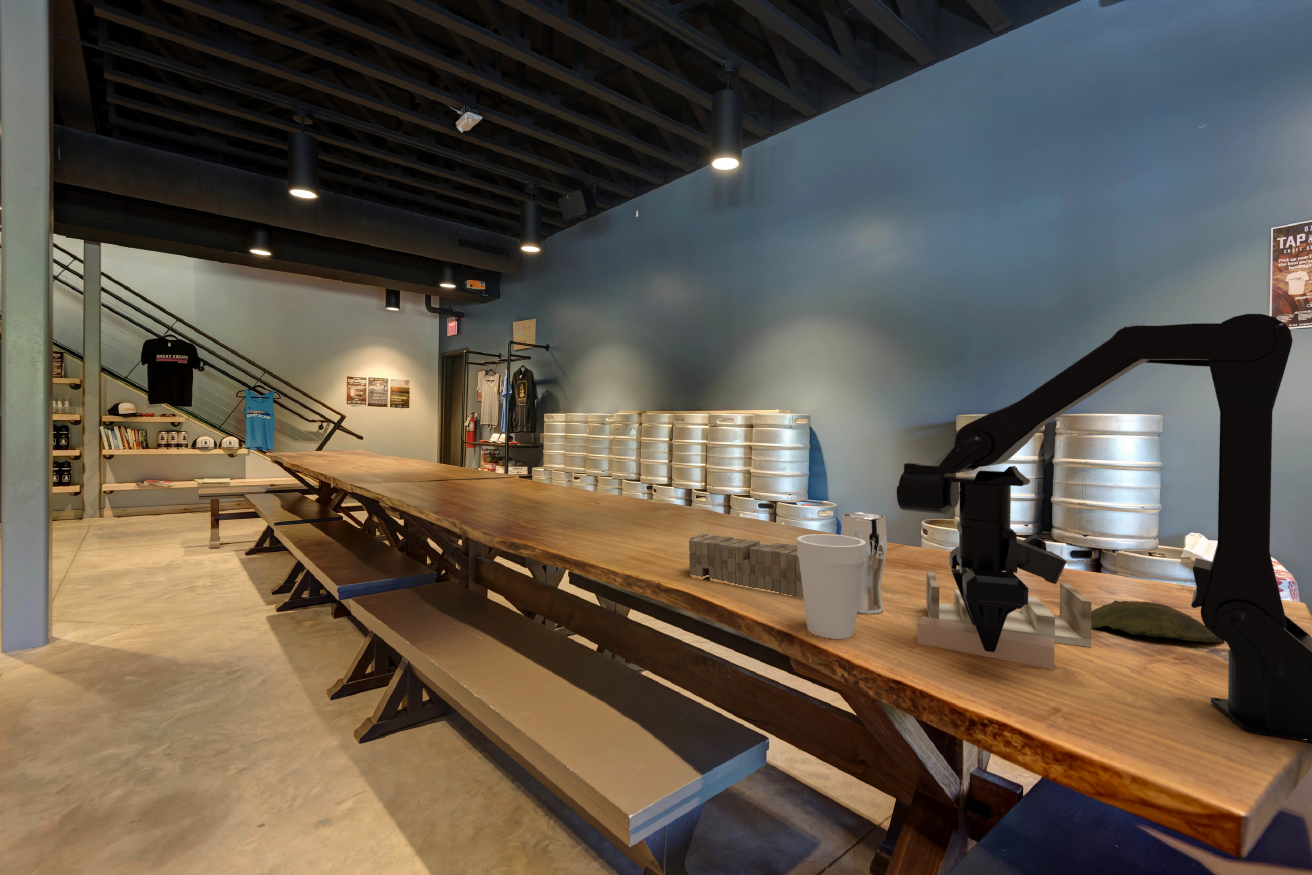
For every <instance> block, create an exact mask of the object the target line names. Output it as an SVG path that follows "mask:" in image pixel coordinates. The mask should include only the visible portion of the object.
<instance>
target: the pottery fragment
mask: <svg viewBox="0 0 1312 875" xmlns="http://www.w3.org/2000/svg"><path fill="white" fill-rule="evenodd" d="M1104 627H1109V628H1110V629H1111V630H1120V631H1123V632H1125V633H1127V634H1130V635H1132V636H1138V635H1139V636H1140V635H1143V636H1146V637H1155V638H1156V637H1162V638H1169V639H1177V640H1181V641H1182V640H1183V641H1187V642H1191V643H1192V642H1203V643H1211V644H1220V643H1222V642H1223V643H1226V642H1225V641H1223V640H1222V639H1220V638H1218V637H1216V636H1215V635H1214V634H1213V633H1212V632H1211V631H1210V630H1209V629H1208V628H1207V627H1206V626H1205V624H1204V623H1203V622H1200V621H1199V620H1197V619H1195V618H1194V617H1192V616H1190V615H1189V614H1186V613H1184V612H1182V611H1180V610H1178V609H1175V608H1173V607H1171V606H1169V605H1166V604H1162V603H1156V602H1150V601H1138V600H1137V601H1136V600H1135V601H1133V600H1132V601H1127V600H1120V601H1119V600H1114V601H1112V602H1111V603H1107V604H1103V605H1102V606H1099V607H1097V608H1095V609H1094V610H1091V630H1098V629H1100V628H1104Z"/></svg>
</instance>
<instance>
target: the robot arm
mask: <svg viewBox="0 0 1312 875" xmlns="http://www.w3.org/2000/svg"><path fill="white" fill-rule="evenodd" d="M1293 341H1294V340H1293V336H1292V331H1291V329H1290V328H1289V326H1288V324H1286V323H1285V322H1284V321H1282V320H1280V319H1278V318H1276V317H1275V316H1272V315H1267V314H1265V313H1264V314H1262V313H1246V314H1240V315H1236V316H1232V317H1230V318H1229V319H1226V320H1224V321H1222V322H1221V323H1220V322H1219V323H1212V322H1211V323H1209V322H1207V323H1206V322H1203V323H1197V322H1196V323H1182V324H1181V323H1179V324H1166V325H1164V324H1163V325H1145V324H1130V325H1126V326H1124V327H1122V328H1120V329H1118V330H1117V331H1116V332H1115V333H1114V334H1113V335H1112V337H1110V338H1109V339H1108V340H1106V341H1104V342H1103V343H1102V344H1100V345H1099V346H1097V347H1096V348H1094V349H1093V350H1091V351H1090V352H1089V353H1087V354H1086V355H1084V356H1083V357H1082V358H1080V359H1078V360H1077V361H1076V362H1074V363H1072V364H1071V365H1069V366H1068V367H1067V368H1065V369H1064V370H1062V371H1061V372H1059V373H1057V374H1056V375H1054V376H1053V377H1052V378H1051V379H1049V380H1048V381H1046V382H1045V383H1043V384H1042V385H1041V386H1039V387H1038V388H1036V389H1034V390H1033V391H1031V392H1030V393H1029V394H1027V395H1026V396H1024V397H1023V398H1021V399H1020V400H1018V401H1016V402H1014V403H1012V404H1010V405H1007V406H1005V407H1002V408H1000V409H996V410H995V411H993V412H990V413H988V414H985V415H984V416H980V417H979V418H976V419H974V420H973V421H971V422H968V423H966V424H965V425H963V426H962V427H961V428H960V429H959V430H958V431H957V432H956V434H955V437H954V438H955V439H954V447H953V448H952V449H951V450H950V451H949V453H948V454H947V455H946V456H945V457H944V458H943V460H942V461H941V462H940V464H938V465H936V464H923V463H919V462H906V463H904V464H903V472H902V474H901V475H900V477H899V481H898V486H896V500H897V504H898V507H899V508H900V509H901V510H902V511H906V512H907V511H908V512H915V513H917V512H918V513H928V514H938V515H939V514H940V515H947V514H949V512H950V511H951V508H954V509H955V508H957V506H958V504H959V512H958V514H959V519H958V522H956V531H958V535H959V536H958V546H956V547H954V548H953V549H952V550H951V551H949V568H950V569H951V570H950V571H951V574H952V576H953V579H954V581H955V584H956V587H957V589H959V592H960V594H961V597H962V599H963V602H964V604H965V607H966V609H967V612H968V614H969V617H970V619H971V622H972V624H973V625H975V627H976V630H977V632H978V635H979V637H980V640H981V643H982V645H983V648H984V650H985V651H988V652H995V650H996V647H997V644H998V641H999V638H1000V635H1001V632H1002V629H1003V626H1004V623H1005V620H1006V617H1007V615H1008V614H1009V613H1011V612H1013V611H1017V610H1021V608H1022V607H1023V606H1024V605H1026V604H1028V596H1029V587H1028V586H1027V585H1026V583H1024V582H1023V581H1022V580H1021V579H1020V577H1018V576H1017V575H1016V574H1018V569H1020V570H1022V571H1024V572H1027V573H1029V574H1032V575H1034V576H1037V577H1038V578H1039V577H1040V578H1042V579H1044V581H1045V582H1047V583H1050V584H1054V585H1057V583H1058V581H1059V579H1060V577H1061V576H1062V573H1063V570H1064V569H1065V567H1066V564H1067V560H1066V559H1065V558H1063V557H1062V556H1061V555H1058V554H1056V553H1054V552H1053V551H1050V550H1047V544H1046V541H1045V540H1043V539H1041V538H1039V537H1036V536H1033V535H1029V536H1028V537H1026V538H1025V539H1024V540H1021V539H1018V535H1017V532H1016V531H1015V530H1014V529H1012V528H1011V506H1012V504H1011V503H1012V502H1011V501H1012V500H1011V498H1012V497H1011V495H1012V487H1013V486H1014V487H1024V486H1027V485H1030V484H1031V480H1030V478H1028V477H1027V476H1026V475H1024V474H1023V473H1022V472H1020V470H1019V469H1018V468H1017V466H1016V465H1012V466H1008V467H1006V469H1005V470H1003V471H998V470H997V471H996V470H995V471H994V470H979V471H977V473H976V474H975V476H974V477H967V476H966V477H964V476H957V474H960V473H965V472H967V473H968V472H972V471H973V472H974V471H975V470H977V469H978V468H981V467H983V468H984V467H990V466H996V465H997V466H998V465H1001V464H1004V463H1007V461H1009V460H1010V459H1011V458H1012V457H1013V456H1014V455H1016V454H1017V453H1018V452H1019V451H1020V450H1021V449H1022V448H1023V447H1025V446H1026V445H1027V444H1028V443H1029V441H1030V440H1031V439H1033V437H1034V436H1035V435H1036V434H1037V433H1038V432H1039V431H1040V430H1041V429H1043V427H1045V426H1046V425H1047V424H1048V423H1050V422H1052V421H1054V420H1055V419H1056V418H1058V417H1059V416H1061V415H1062V414H1064V413H1066V412H1067V411H1069V410H1071V409H1072V408H1073V407H1075V406H1077V405H1078V404H1080V403H1081V402H1083V401H1085V400H1087V398H1089V397H1091V396H1092V395H1094V394H1096V393H1097V392H1099V391H1100V390H1101V389H1103V388H1105V387H1107V386H1108V385H1110V384H1111V383H1113V382H1114V381H1116V380H1117V379H1119V378H1120V377H1122V376H1124V375H1126V374H1127V373H1129V372H1130V371H1132V370H1133V369H1135V368H1136V367H1138V366H1140V365H1143V364H1157V365H1158V364H1159V365H1170V366H1171V365H1174V366H1183V367H1185V366H1187V367H1205V368H1206V367H1207V368H1208V367H1209V369H1210V375H1211V378H1212V382H1213V387H1214V391H1215V395H1216V399H1217V400H1216V401H1217V404H1218V408H1219V448H1218V449H1219V450H1218V451H1219V452H1218V453H1219V455H1218V458H1219V459H1218V462H1219V464H1218V502H1217V503H1218V506H1217V507H1218V510H1217V513H1218V514H1217V544H1216V547H1215V550H1214V554H1213V558H1212V560H1207V559H1203V558H1200V557H1199V558H1198V557H1196V558H1194V561H1193V566H1192V572H1193V577H1194V583H1195V586H1196V588H1195V590H1194V592H1193V595H1192V599H1191V608H1192V609H1196V608H1200V616H1201V621H1202V624H1203V625H1205V626H1206V627H1207V628H1208V629H1209V630H1210V631H1211V632H1212V633H1213V634H1214V635H1215V636H1216V637H1218V638H1220V639H1222V640H1223V641H1224V642H1225V643H1227V646H1228V648H1229V650H1228V677H1227V678H1228V679H1227V680H1228V686H1227V687H1228V688H1227V689H1228V691H1227V692H1228V693H1227V695H1228V696H1227V698H1221V697H1210V703H1211V704H1212V705H1213V706H1214V707H1215V708H1217V709H1218V710H1219V711H1221V712H1222V713H1224V715H1225V716H1227V717H1228V718H1229V719H1230V720H1232V721H1233V722H1234V723H1236V724H1237V725H1238V726H1239V727H1240V728H1241V729H1242V730H1245V731H1247V732H1251V733H1256V734H1263V735H1270V736H1275V737H1276V736H1277V737H1283V738H1289V739H1294V738H1295V740H1301V739H1307V740H1308V742H1312V635H1311V634H1310V633H1308V632H1307V631H1306V630H1304V629H1303V628H1302V627H1301V626H1299V625H1298V624H1297V623H1296V622H1295V621H1293V620H1292V619H1291V618H1290V617H1288V616H1287V615H1286V614H1285V609H1284V606H1283V600H1282V597H1281V592H1280V589H1279V584H1278V581H1277V577H1276V572H1275V568H1274V564H1273V561H1272V560H1273V559H1272V555H1271V552H1270V550H1271V549H1270V548H1271V506H1272V505H1271V504H1272V502H1271V499H1272V487H1271V486H1272V458H1273V457H1272V455H1273V454H1272V453H1273V452H1272V450H1273V410H1274V407H1275V405H1276V404H1275V403H1276V401H1277V397H1278V394H1279V391H1280V387H1281V384H1282V381H1283V378H1284V375H1285V370H1286V368H1287V364H1288V360H1289V357H1290V353H1291V349H1292V346H1293ZM1307 740H1306V741H1307Z"/></svg>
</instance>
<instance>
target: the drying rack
mask: <svg viewBox="0 0 1312 875" xmlns="http://www.w3.org/2000/svg"><path fill="white" fill-rule="evenodd" d="M925 588H926V595H925V596H926V599H925V600H926V603H925V604H926V605H925V607H926V611H927V612H926V613H927V616H928V617H929V618H934V619H940V620H946V621H952V622H958V623H964V624H970V625H973V624H972V622H971V619H970V617H969V614H968V612H967V609H966V607H965V604H964V602H963V599H962V597H961V594H960V592H959V589H958V588H954V589H953V590H954V594H953V595H954V596H953V597H954V598H953V601H954V602H953V603H954V604H953V603H944V602H943V603H941V602H940V586H939V583H938V580H937V577H936V575H935V571H931V570H926V587H925ZM1091 612H1092V601H1091V600H1090V599H1089V598H1087V597H1086V596H1085V595H1083V593H1081V592H1080V591H1078V590H1077V589H1076V588H1075V587H1074V586H1072V585H1071V584H1070V583H1069V582H1059V615H1056V614H1054V613H1052V612H1051V611H1050V610H1049V609H1048V608H1047V607H1046V605H1045V604H1044V603H1043V602H1041V601H1040V599H1039V598H1038V597H1037V596H1034V595H1033V596H1031V595H1028V604H1026V605H1024V606H1023V607H1022V608H1021V609H1020V611H1017V610H1014V611H1013V612H1011V613H1009V614H1008V615H1007V617H1006V620H1005V623H1004V626H1003V629H1002V630H1005V631H1011V632H1016V633H1022V634H1028V635H1034V636H1040V637H1046V638H1052V639H1053V640H1054V644H1061V645H1071V646H1080V647H1087V648H1091V647H1092V629H1091Z"/></svg>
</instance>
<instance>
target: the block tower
mask: <svg viewBox="0 0 1312 875" xmlns="http://www.w3.org/2000/svg"><path fill="white" fill-rule="evenodd" d="M688 550H689V554H688V555H689V556H688V558H689V560H688V562H689V575H690V574H691V575H696V576H701V577H703V576H706V575H709V577H708V579H709V578H712V579H717V580H721V581H727V582H729V583H734V584H738V585H743V586H748V587H752V588H759V589H765V590H770V591H775V592H779V593H782V594H787V595H792V596H797V597H802V598H804V596H803V588H802V580H801V571H800V563H799V557H798V556H797V544H788V543H781V542H774V543H772V544H766V543H765V544H761V541H760V540H757V539H756V540H753V539H743V538H734V536H733V537H732V536H725V535H724V536H723V535H711V534H709V533H701V534H697V535H694V536H690V538H689V540H688ZM797 597H796V598H797ZM802 598H801V599H802Z"/></svg>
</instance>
